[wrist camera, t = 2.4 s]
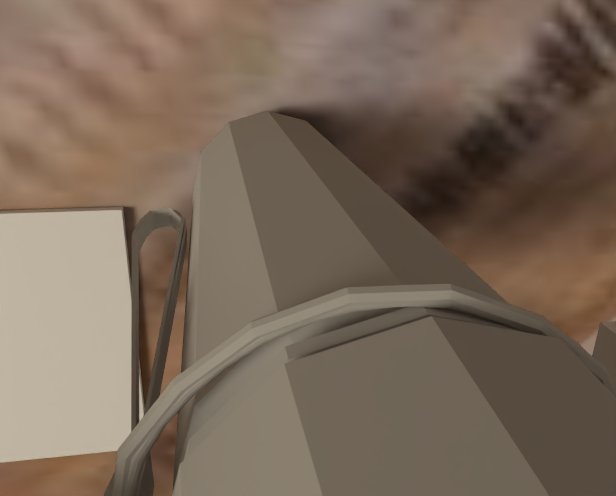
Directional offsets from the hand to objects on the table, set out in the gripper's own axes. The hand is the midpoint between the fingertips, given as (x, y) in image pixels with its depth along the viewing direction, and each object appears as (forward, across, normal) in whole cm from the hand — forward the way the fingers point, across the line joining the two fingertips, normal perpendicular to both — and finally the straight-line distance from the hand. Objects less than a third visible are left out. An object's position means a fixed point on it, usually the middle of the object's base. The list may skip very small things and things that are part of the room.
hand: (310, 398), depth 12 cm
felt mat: (+17, -13, -8) cm, 23 cm away
